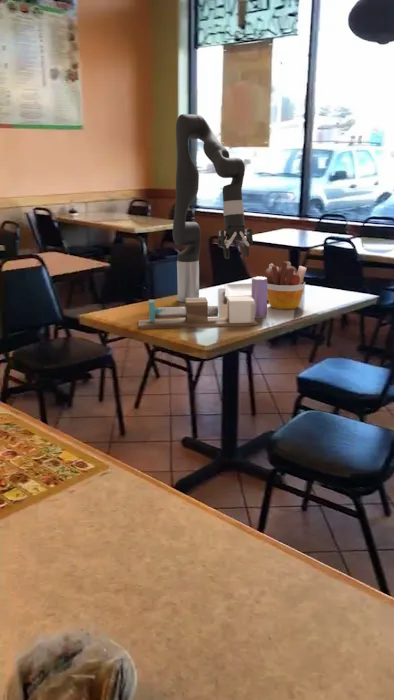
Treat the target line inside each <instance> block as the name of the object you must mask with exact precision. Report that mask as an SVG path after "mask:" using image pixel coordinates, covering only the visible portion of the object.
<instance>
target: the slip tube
mask: <svg viewBox="0 0 394 700" xmlns="http://www.w3.org/2000/svg"><path fill="white" fill-rule="evenodd" d="M148 313H149V314H148V315H149V317H148V319H149V321H155V319H181V318H187V307H186V306H170V307H169V306H165V307H164V306H162V307H159V306H158V307H155V299H148ZM217 317H219V306H218V305H208V318H217Z"/></svg>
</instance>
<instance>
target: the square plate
mask: <svg viewBox="0 0 394 700" xmlns="http://www.w3.org/2000/svg"><path fill="white" fill-rule="evenodd" d="M236 296H252V282H251V283H231V284H229V283H228V284H227V283H226V284H224V297H225V299H226V300H227V297H236ZM267 303H269V300H268V295H267Z"/></svg>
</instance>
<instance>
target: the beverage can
mask: <svg viewBox="0 0 394 700" xmlns="http://www.w3.org/2000/svg"><path fill="white" fill-rule="evenodd" d="M251 283H252V296H251V297H252V298H253V299H254V301H255V315H254V319H255V318H256V319H264V318H266V317H267V316H268V302H267V284H268V281H267V277H265V276H253V277H252V278H251Z"/></svg>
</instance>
